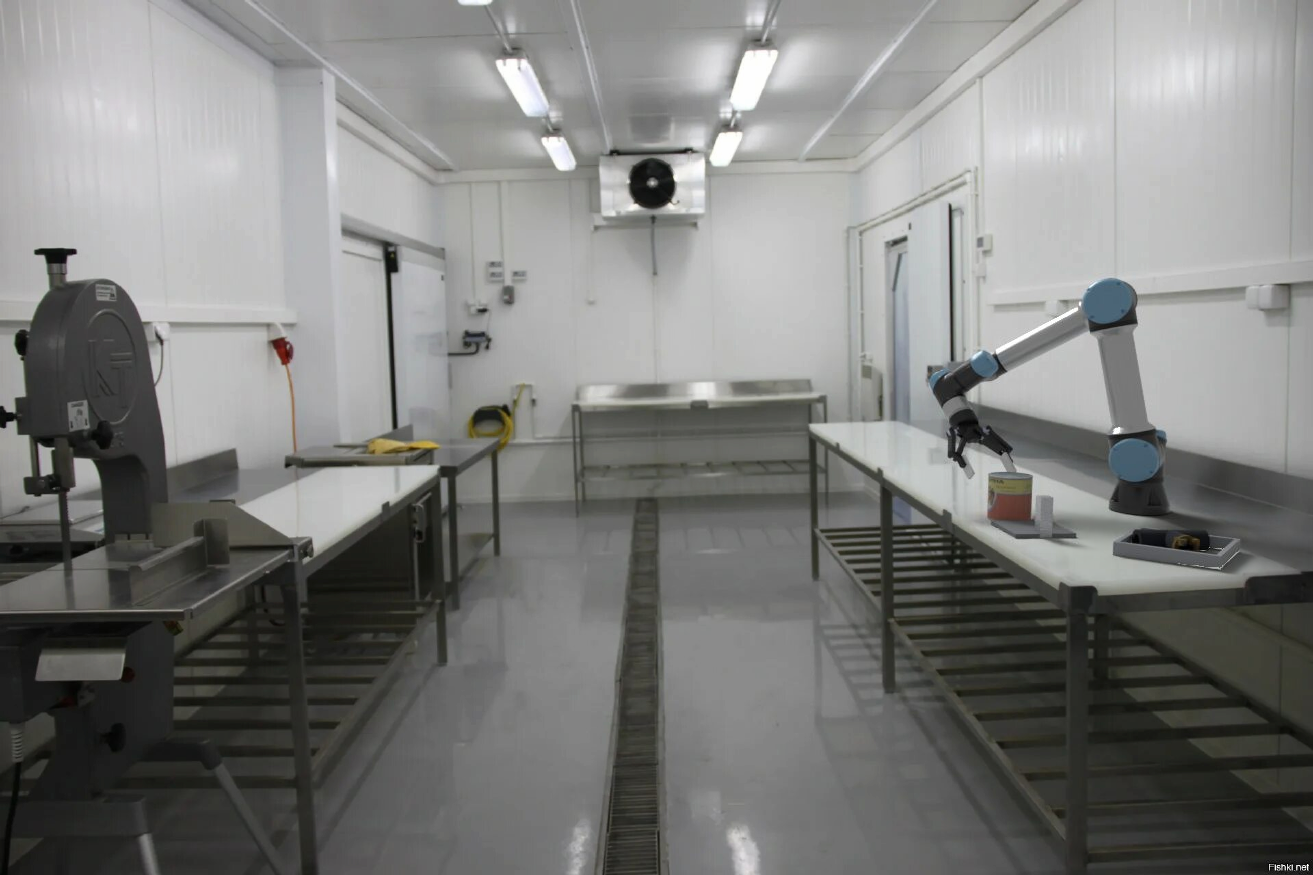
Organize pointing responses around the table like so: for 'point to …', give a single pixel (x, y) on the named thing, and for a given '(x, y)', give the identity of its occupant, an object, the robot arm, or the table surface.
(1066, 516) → the table surface
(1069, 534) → the rubber mat
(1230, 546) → the parts corral
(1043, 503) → the block
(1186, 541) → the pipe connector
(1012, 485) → the canned food
